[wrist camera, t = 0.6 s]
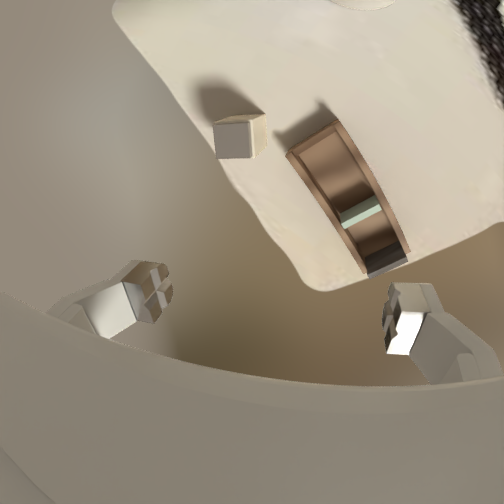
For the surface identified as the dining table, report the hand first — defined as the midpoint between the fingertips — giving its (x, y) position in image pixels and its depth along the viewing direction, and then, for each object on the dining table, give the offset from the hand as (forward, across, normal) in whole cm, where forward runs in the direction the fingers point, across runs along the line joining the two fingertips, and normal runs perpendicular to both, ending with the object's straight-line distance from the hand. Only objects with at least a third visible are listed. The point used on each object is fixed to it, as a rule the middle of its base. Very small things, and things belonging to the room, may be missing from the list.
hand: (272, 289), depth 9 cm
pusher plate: (+33, -7, +8) cm, 35 cm away
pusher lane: (+34, -6, +7) cm, 36 cm away
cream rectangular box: (+34, +9, -4) cm, 35 cm away
